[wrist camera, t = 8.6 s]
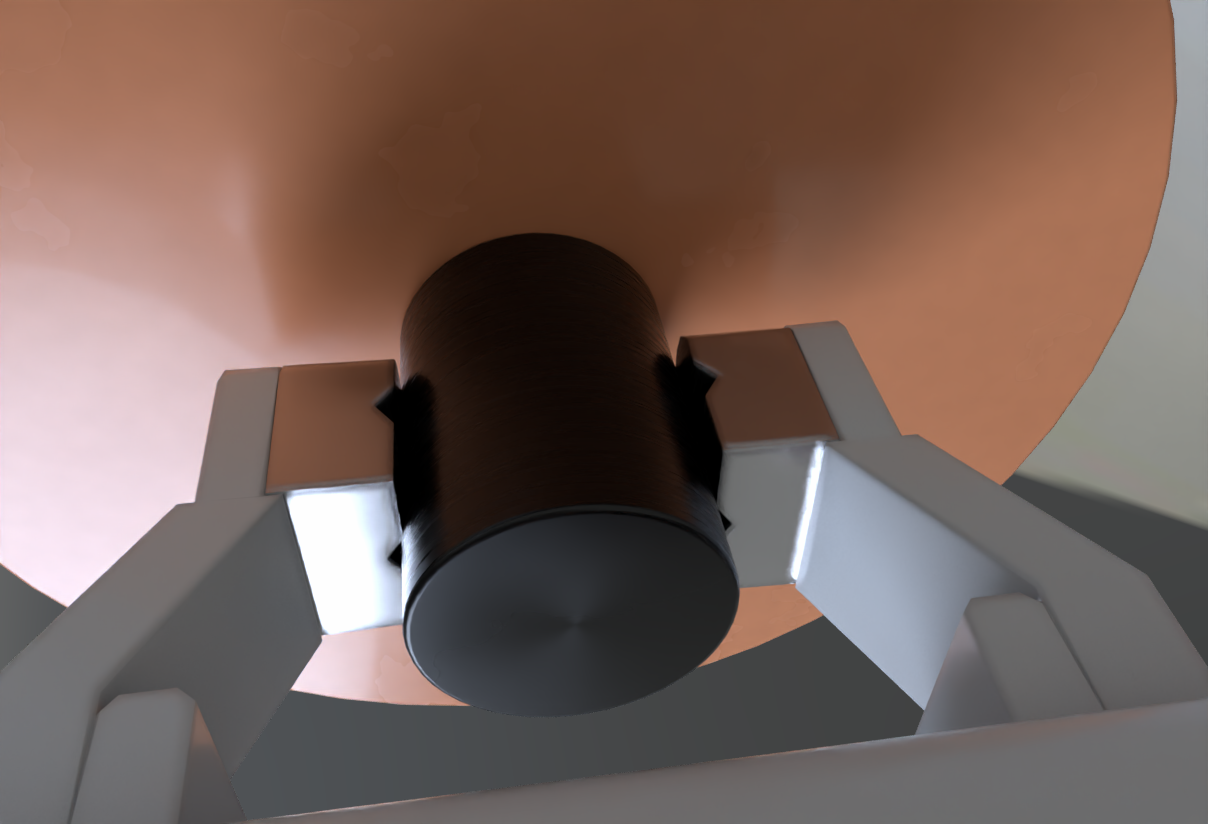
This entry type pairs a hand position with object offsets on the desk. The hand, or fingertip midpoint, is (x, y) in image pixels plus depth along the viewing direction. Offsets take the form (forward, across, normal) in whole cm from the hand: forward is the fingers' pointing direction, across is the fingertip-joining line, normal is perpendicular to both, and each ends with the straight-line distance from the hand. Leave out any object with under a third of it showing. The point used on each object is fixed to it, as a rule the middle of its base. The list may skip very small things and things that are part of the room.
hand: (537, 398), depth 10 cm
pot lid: (+2, 0, 0) cm, 2 cm away
